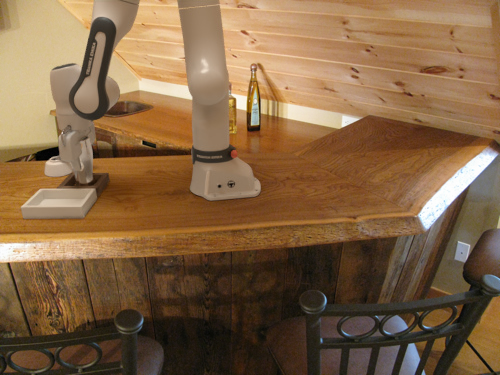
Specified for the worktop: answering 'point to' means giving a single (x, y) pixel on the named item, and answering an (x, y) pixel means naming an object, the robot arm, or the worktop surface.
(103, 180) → the walnut collar
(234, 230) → the worktop surface
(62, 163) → the inkwell
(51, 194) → the cream white tray
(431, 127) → the worktop surface
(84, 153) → the beer glass
